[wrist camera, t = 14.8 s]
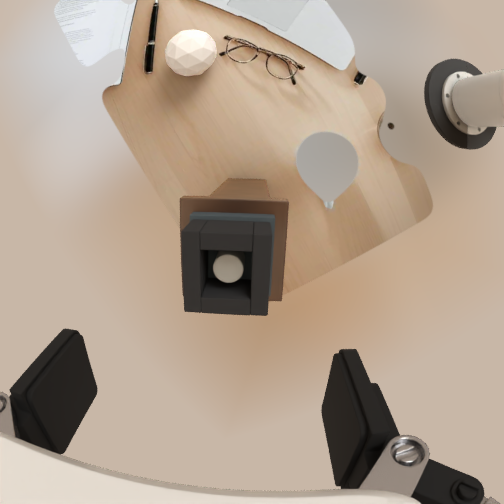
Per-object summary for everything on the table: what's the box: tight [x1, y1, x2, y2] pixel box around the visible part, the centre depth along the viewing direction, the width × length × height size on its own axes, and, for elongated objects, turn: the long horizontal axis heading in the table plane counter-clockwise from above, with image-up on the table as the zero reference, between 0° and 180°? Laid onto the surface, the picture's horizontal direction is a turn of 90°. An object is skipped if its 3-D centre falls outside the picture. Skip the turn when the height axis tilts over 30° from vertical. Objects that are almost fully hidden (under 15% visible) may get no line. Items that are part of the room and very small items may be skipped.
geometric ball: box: [165, 29, 217, 76], centre depth 40 cm, size 8×8×8 cm
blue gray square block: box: [190, 212, 275, 296], centre depth 23 cm, size 6×6×4 cm
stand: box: [180, 178, 289, 301], centre depth 38 cm, size 8×8×28 cm
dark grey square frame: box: [181, 219, 272, 316], centre depth 21 cm, size 6×6×3 cm
